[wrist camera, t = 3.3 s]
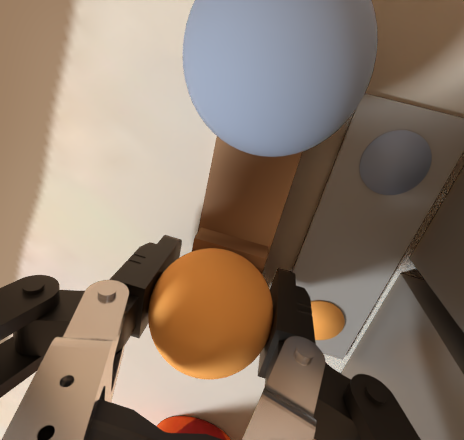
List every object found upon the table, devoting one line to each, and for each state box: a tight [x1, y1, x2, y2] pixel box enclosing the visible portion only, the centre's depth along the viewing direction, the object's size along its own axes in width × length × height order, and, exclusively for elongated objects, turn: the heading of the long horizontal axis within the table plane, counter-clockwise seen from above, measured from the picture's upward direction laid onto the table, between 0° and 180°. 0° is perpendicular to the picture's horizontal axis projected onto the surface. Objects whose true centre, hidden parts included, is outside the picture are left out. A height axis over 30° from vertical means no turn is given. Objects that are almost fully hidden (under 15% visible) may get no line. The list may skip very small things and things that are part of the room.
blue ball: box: [183, 0, 378, 157], centre depth 7 cm, size 4×4×4 cm
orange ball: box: [148, 248, 273, 379], centre depth 10 cm, size 4×4×4 cm
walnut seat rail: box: [192, 136, 303, 274], centre depth 11 cm, size 3×13×2 cm, turn 167°
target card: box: [292, 93, 464, 360], centre depth 13 cm, size 4×12×1 cm, turn 167°
